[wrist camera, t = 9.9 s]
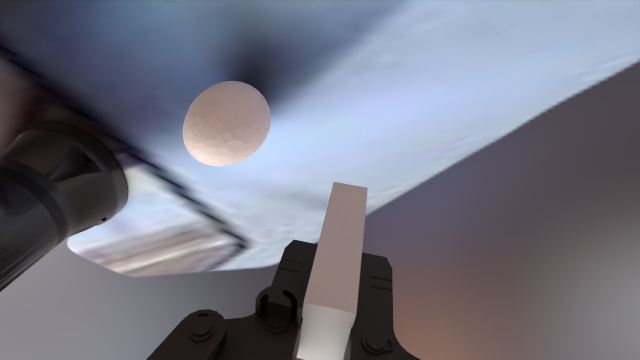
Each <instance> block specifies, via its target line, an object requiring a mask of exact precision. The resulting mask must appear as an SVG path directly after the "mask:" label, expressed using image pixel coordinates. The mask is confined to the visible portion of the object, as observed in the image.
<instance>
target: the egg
mask: <svg viewBox="0 0 640 360" xmlns="http://www.w3.org/2000/svg"><path fill="white" fill-rule="evenodd" d="M270 123H271V114H270V109H269V106H268V103H267V101H266V99H265V98H264V96H263V95H262V94H261V93H260V92H259V91H258V90H257V89H255V88H254V87H252V86H251V85H249V84H246V83H243V82H239V81H224V82H221V83H218V84H215V85H213V86H211V87H209V88H208V89H206V90H205V91H203V92H202V93H201V94H200V95H199V96H197V97H196V99H195V100H194V101H193V103H192V104H191V105H190V107H189V109H188V112H187V114H186V117H185V121H184V125H183V139H184V143H185V146H186V148H187V149H188V151H189V153H190V154H191V155H192V156H193V157H194V158H195V159H196V160H198V161H200V162H202V163H204V164H207V165H212V166H226V165H230V164H234V163H237V162H240V161H242V160H245V159H246V158H248V157H249V156H251V155H252V154H253V153H254V152H255V151H256V150H257V149H258V148H259V147H260V146H261V145H262V143H263V142H264V141H265V139H266V137H267V134H268V132H269V129H270Z"/></svg>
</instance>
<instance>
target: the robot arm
mask: <svg viewBox="0 0 640 360" xmlns="http://www.w3.org/2000/svg"><path fill="white" fill-rule="evenodd" d="M367 189H368V188H364V187H359V186H353V185H348V184H343V183H337V182H334V184H333V188H332V192H331V196H330V199H329V203H328V207H327V211H326V215H325V219H324V223H323V227H322V231H321V235H320V239H319V243H318V244H313V243H308V242H303V241H298V240H293V241H292V242H291V243H290V244H289V245H288V246H287V247H286V248H285V250H284V253H283V255H282V258H281V261H280V263H279V266H278V269H277V272H276V274H275V277H274V280H273V283H272V285H271V287H267V288H266V289H264V290H263V291H261V292H260V293H259V295H258V296H257V298H256V313H254V314H252V315H250V316H247V317H243V318H235V319H224V318H223V316H222V315H220V314H219V313H218V312H217V311H213V310H209V309H208V310H198V311H196V312H194V313H191V314H189V315H188V316H187V317H186V318H184V319H183V320H182V321H181V322H180V323H179V324H178V325H177V327H176V328H175V329H174V330H173V331H172V332H171V333H170V334H169V335H168V336H167V338H166V339H165V340H164V341H163V342H162V343H161V344H160V345H159V346H158V347H157V349H156V350H155V351H154V352H153V353H152V354H151V355H150V356H149V357H148V358H147V360H296V358H300V359H305V360H420V359H418V358H416V357H415V356H413V355H411V354H410V353H408V352H407V351H406V350H405V349H404V348H403V347H402V346H401V345H400V344H399V342H398V341H397V339H396V337H395V334H394V329H393V293H392V267H391V266H390V264H389V262H388V260H387V258H386V257H382V256H377V255H372V254H367V253H362V245H363V233H364V222H365V211H366V200H367ZM127 196H128V188H127V183H126V179H125V176H124V174H123V172H122V170H121V168H120V166H119V165H118V163H117V161H116V160H115V159H114V157H113V156H112V155H111V154H110V153H109V151H108V150H107V149H106V148H105V147H104V146H103V145H101V144H100V143H99V142H98V141H97V140H95V139H94V138H93V137H91V136H90V135H88V134H87V133H85V132H83V131H81V130H79V129H77V128H75V127H72V126H69V125H66V124H61V123H44V124H41V125H38V126H36V127H34V128H31V129H29V130H27V131H25V132H23V133H21V134H20V135H19V136H18V137H17V138H16V139H15V140H14V142H13V143H12V144H11V145H10V146H8V147H7V148H6V149H5V150H4V151H3V152H2V153H1V154H0V292H1V291H2V290H3V289H4V288H6V287H7V286H8V285H9V284H11V283H12V282H13V281H14V280H15V279H17V278H18V277H19V276H20V275H21V274H23V273H24V272H25V271H26V270H28V269H29V268H30V267H31V266H33V265H34V264H35V263H36V262H38V261H39V260H40V259H41V258H42V257H44V256H45V255H46V254H47V253H49V252H50V251H51V250H52V249H53V248H54V247H56V246H57V245H58V244H59V243H61V242H62V241H63V240H64V239H66V238H67V237H70V236H72V235H75V234H77V233H80V232H82V231H85V230H87V229H90V228H92V227H94V226H96V225H100V224H102V223H104V222H106V221H108V220H110V219H111V218H112V217H113V216H115V215H116V214H117V213H118V212H119V211H120V210H121V209H122V208H123V207H124V205H125V203H126V201H127Z"/></svg>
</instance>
